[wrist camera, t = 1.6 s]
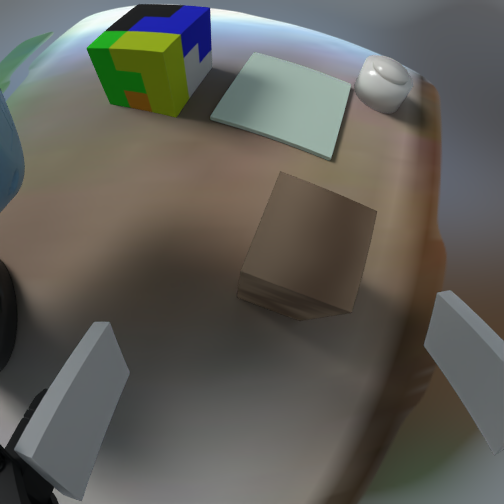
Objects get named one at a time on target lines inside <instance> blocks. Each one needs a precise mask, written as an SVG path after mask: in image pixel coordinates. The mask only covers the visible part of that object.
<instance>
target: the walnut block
mask: <svg viewBox="0 0 504 504" xmlns="http://www.w3.org/2000/svg"><path fill="white" fill-rule="evenodd" d="M376 215H377V211H375V210H373V209H371V208H369V207H366V206H364V205H362V204H360V203H357V202H355V201H353V200H351V199H348V198H346V197H344V196H341V195H339V194H337V193H334V192H332V191H329V190H327V189H325V188H322V187H320V186H317V185H315V184H312V183H310V182H307V181H305V180H302V179H299V178H297V177H294V176H292V175H289V174H286V173H284V172H281V171H280V173H279V176H278V178H277V181H276V183H275V186H274V188H273V191H272V193H271V196H270V198H269V201H268V203H267V206H266V208H265V211H264V213H263V216H262V218H261V221H260V223H259V226H258V228H257V231H256V233H255V236H254V238H253V241H252V244H251V246H250V249H249V251H248V254H247V256H246V259H245V261H244V264H243V266H242V269H241V272H240V279H239V286H238V293H237V298H240V299H242V300H245V301H248V302H250V303H253V304H255V305H258V306H261V307H263V308H266V309H269V310H271V311H274V312H277V313H280V314H282V315H285V316H288V317H291V318H293V319H296V320H299V321H302V320H309V319H315V318H322V317H328V316H334V315H340V314H346V313H352V310H353V307H354V303H355V300H356V296H357V293H358V289H359V286H360V282H361V278H362V275H363V271H364V267H365V263H366V259H367V255H368V251H369V247H370V242H371V238H372V233H373V229H374V224H375V220H376Z"/></svg>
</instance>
